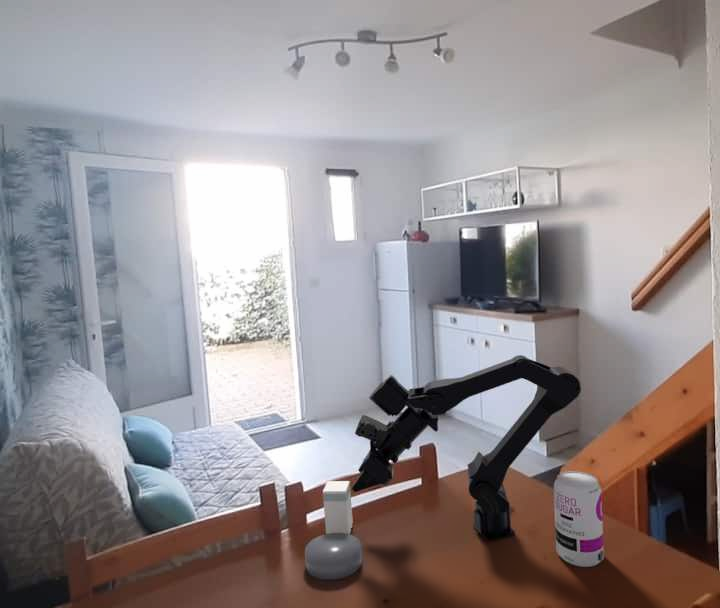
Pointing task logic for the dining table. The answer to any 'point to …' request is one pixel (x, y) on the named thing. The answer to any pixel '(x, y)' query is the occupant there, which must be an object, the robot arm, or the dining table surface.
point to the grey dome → (333, 556)
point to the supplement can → (578, 518)
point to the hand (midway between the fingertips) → (356, 480)
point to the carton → (337, 507)
